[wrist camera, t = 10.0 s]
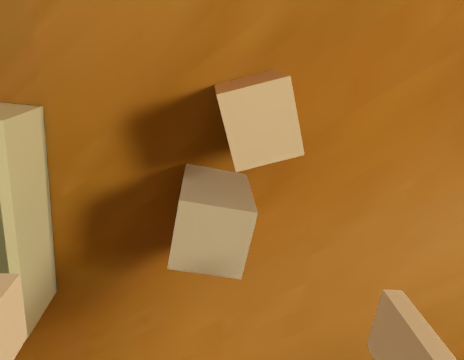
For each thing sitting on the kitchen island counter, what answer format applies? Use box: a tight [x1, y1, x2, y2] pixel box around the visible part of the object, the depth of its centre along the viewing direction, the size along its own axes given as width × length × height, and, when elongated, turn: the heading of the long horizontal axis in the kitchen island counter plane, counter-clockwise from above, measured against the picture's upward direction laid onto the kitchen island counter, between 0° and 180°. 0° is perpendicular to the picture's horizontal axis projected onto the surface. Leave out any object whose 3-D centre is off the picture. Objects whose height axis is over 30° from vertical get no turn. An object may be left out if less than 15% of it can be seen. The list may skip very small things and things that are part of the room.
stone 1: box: [167, 164, 258, 279], centre depth 22 cm, size 4×4×6 cm
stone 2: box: [215, 70, 305, 172], centre depth 20 cm, size 4×4×5 cm
